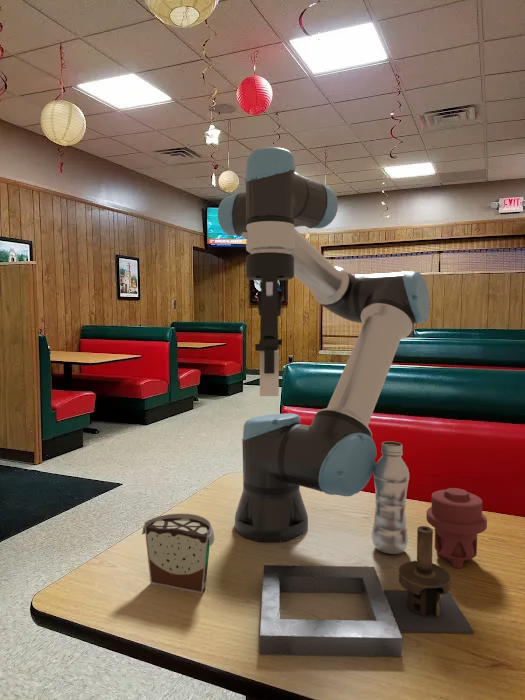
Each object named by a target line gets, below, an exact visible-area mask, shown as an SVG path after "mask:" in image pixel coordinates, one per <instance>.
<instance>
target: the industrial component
mask: <svg viewBox="0 0 525 700" xmlns="http://www.w3.org/2000/svg"><path fill="white" fill-rule="evenodd" d="M416 532H417V533H416V534H417V537H416V560H411V561H406V562H404V563H402V564H400V566H399V567H398V582H399V584H400V585H401V586H402V588H404V589H405V590H407V606H408V608H409V609H410V610H411V611H413V612H414V613H417V614H421V615H423V616H426V615H427V614H434V616H435V617H436V618H437V617H438V616H440V608H441V598H442V597H443V596H444V595H445V594H446V593H448V592H449V593H450V590H451V574H450V573H449V572H448V570H446V569H445V568H444V567H441V566H440V565H438V564H436V563H433V537H434V530H433V528H432V527H430V526H428V525H426V526H425V525H420V526H418V527H417V530H416Z"/></svg>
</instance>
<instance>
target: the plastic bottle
mask: <svg viewBox="0 0 525 700" xmlns="http://www.w3.org/2000/svg"><path fill="white" fill-rule="evenodd" d="M380 453H381V454H382V455H381V456H380V458H379V459H378V460H377V462H376V463H375V467H374V470H373V473H372V475H373V481H374V488H375V489H374V490H375V508H374V509H375V510H374V511H375V512H374V522H373V523H372V524H373V525H372V529H371V539H372V543H373V545H374V547H375V548H376V550H377V551H379V552H380V553H381V552H382V553H384V554H389V555H401V554H402V553H404V551H406V549H407V548H408V543H409V533H408V528H407V519H406V518H407V516H406V514H407V513H406V502H407V492H408V486H409V481H410V472H409V467H408V466H407V464H406V462H405V461H404V459H403V458H402V456H403V455H404V454H403V453H404V452H403V444H402V443H401V442H397V441H388V440H387V441H383V442H381V449H380Z"/></svg>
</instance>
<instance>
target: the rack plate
mask: <svg viewBox="0 0 525 700" xmlns="http://www.w3.org/2000/svg"><path fill="white" fill-rule="evenodd" d="M262 574H263V577H262V593H261V610H260V611H261V612H260V613H261V614H260V631H259V632H260V633H259V652H260V653H259V654H260V655H280V656H281V655H282V656H283V655H287V656H328V657H329V656H330V657H331V656H333V657H334V656H336V657H337V656H339V657H383V658H386V657H387V658H389V657H390V658H391V657H392V658H402V657H403V637H402V634H401V632H400V631H399V628H398V626H397V623H396V621H395V618H394V616H393V613H392V611H391V608H390V606H389V603H388V600H387V598H386V595H385V593H384V590H385V589H384V588H383V585H382V583H381V581H380V578H379V576H378V573H377V570H376V568H375V566H357V565H355V566H354V565H353V566H351V565H350V566H349V565H348V566H347V565H345V566H343V565H341V566H340V565H290V564H289V565H287V564H286V565H282V564H281V565H280V564H278V565H277V564H273V565H272V564H268V565H267V564H264V565H263V573H262ZM280 593H323V594H324V593H328V594H330V593H333V594H336V593H337V594H339V593H340V594H362V596H363V600H364V603H365V606H366V609H367V610H366V611H367V612H368V616H369V620H363V619H362V620H361V619H359V620H352V619H351V620H349V619H347V620H345V619H302V618H301V619H295V618H294V619H292V618H291V619H290V618H289V619H288V618H284V619H283V618H282V619H281V618H280V617H281V616H280V615H281V614H280Z"/></svg>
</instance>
